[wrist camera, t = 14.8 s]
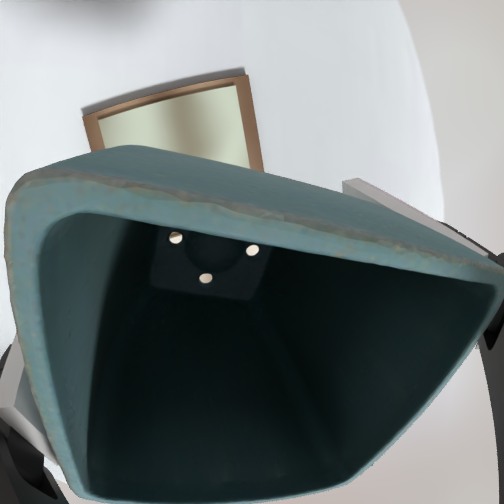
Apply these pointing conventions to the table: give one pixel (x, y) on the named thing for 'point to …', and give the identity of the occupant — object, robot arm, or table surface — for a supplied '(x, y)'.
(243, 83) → the board
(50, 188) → the flower pot
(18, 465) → the robot arm
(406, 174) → the table surface
